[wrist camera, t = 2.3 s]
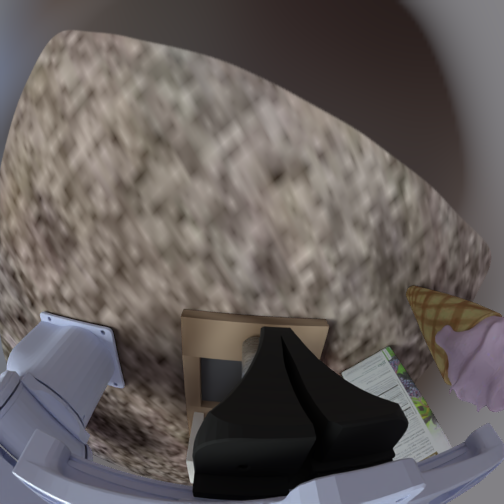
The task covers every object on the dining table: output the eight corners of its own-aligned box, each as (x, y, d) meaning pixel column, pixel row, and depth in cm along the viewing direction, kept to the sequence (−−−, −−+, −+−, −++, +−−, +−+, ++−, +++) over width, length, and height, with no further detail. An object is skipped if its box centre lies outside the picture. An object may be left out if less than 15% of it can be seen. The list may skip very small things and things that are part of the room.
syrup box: (397, 374, 25) (453, 469, 11) (352, 399, 26) (392, 503, 12) (388, 344, 24) (459, 451, 10) (337, 372, 24) (384, 494, 10)
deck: (194, 461, 30) (193, 468, 28) (183, 309, 22) (180, 317, 20) (276, 465, 30) (277, 472, 29) (325, 319, 22) (329, 327, 21)
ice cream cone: (372, 322, 23) (457, 446, 8) (386, 258, 21) (514, 364, 7) (425, 317, 23) (513, 411, 9) (441, 259, 21) (556, 337, 7)
